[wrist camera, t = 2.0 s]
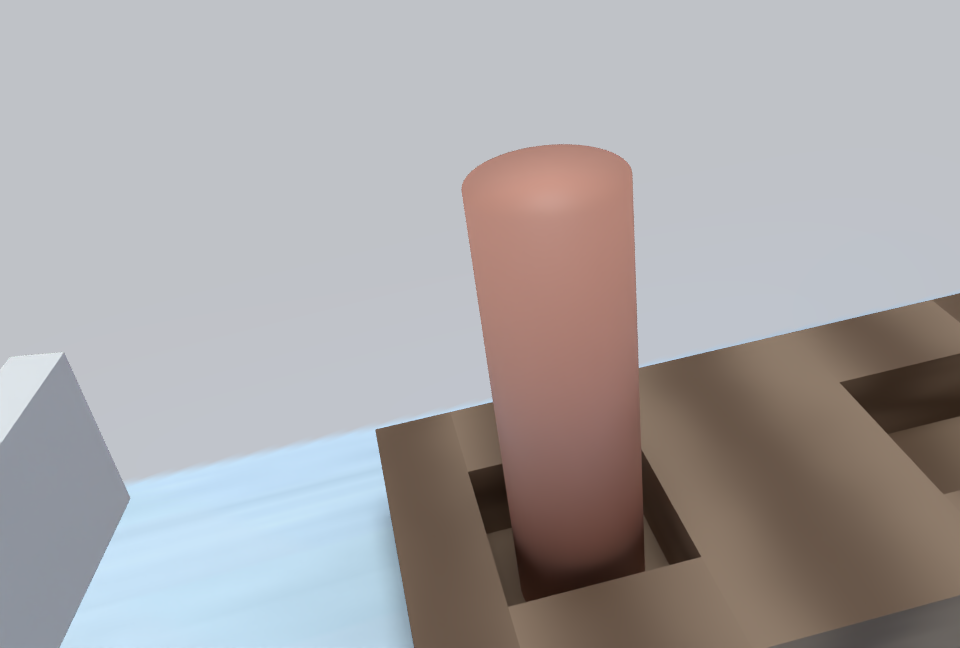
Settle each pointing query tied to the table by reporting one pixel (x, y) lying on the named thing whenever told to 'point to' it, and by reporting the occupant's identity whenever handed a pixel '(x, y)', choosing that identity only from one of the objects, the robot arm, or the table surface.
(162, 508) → the table surface
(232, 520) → the table surface
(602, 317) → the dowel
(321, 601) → the table surface
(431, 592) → the hole board
